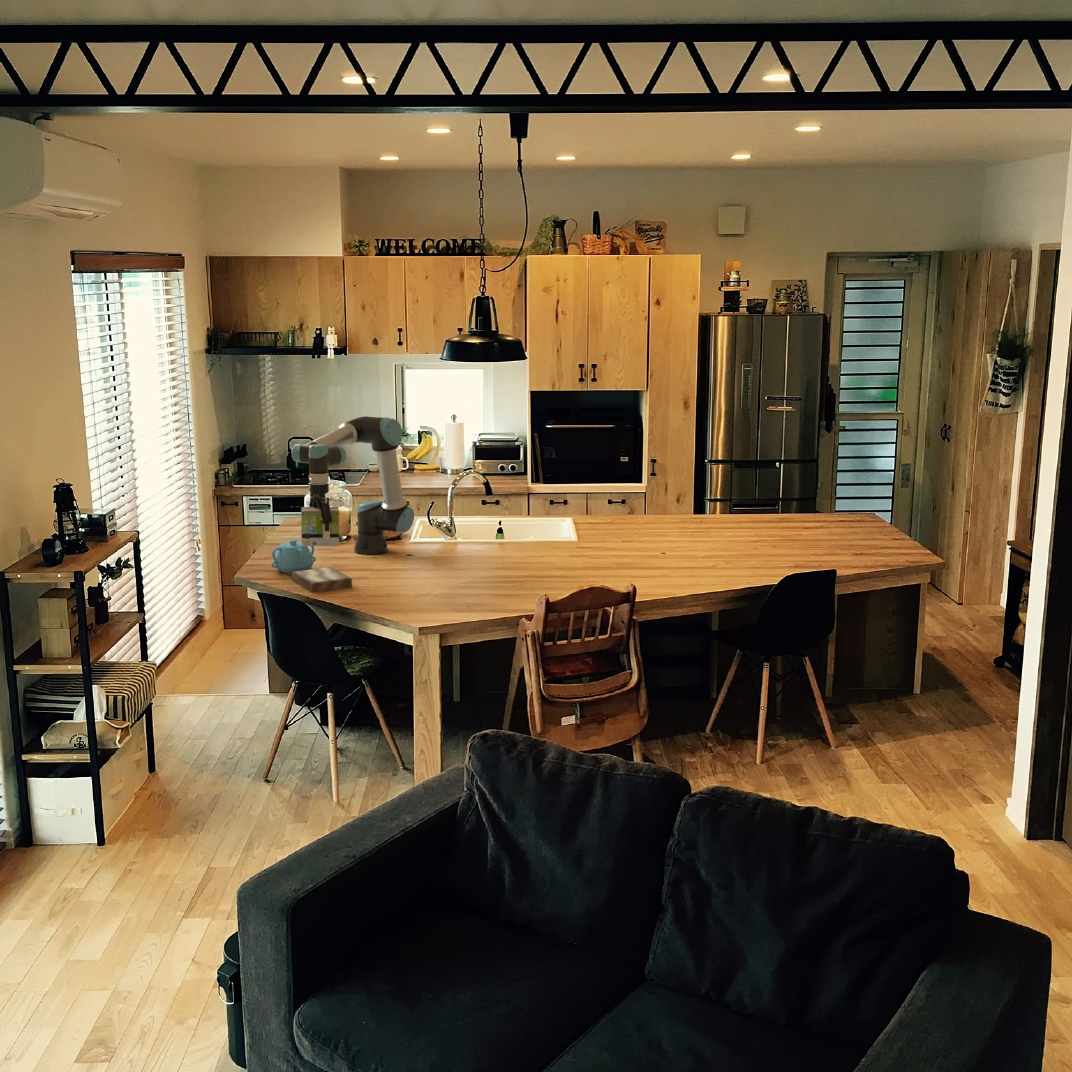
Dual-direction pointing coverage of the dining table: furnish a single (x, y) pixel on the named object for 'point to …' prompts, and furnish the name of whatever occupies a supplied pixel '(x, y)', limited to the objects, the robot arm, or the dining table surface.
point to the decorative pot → (293, 557)
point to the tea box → (318, 527)
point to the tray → (321, 579)
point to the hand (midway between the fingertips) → (320, 535)
